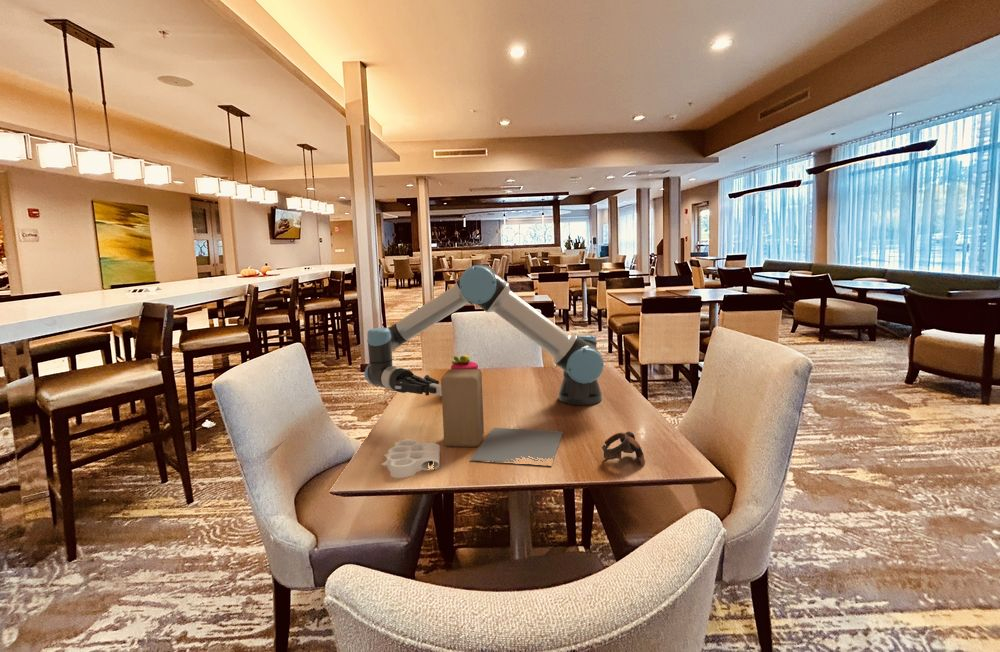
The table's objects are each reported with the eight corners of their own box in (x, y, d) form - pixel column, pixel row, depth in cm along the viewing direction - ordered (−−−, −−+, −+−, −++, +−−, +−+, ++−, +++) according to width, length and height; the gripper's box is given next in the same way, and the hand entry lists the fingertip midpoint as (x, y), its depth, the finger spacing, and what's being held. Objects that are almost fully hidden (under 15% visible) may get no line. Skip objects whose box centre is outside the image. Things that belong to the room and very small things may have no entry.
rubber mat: (563, 432, 148) (563, 431, 148) (551, 466, 125) (551, 465, 125) (493, 429, 153) (493, 427, 153) (470, 461, 130) (470, 459, 130)
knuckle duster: (439, 476, 123) (378, 481, 122) (440, 448, 141) (386, 452, 139) (438, 463, 123) (377, 468, 121) (439, 436, 140) (385, 440, 139)
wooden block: (484, 434, 149) (481, 368, 146) (479, 448, 139) (476, 377, 136) (451, 434, 150) (447, 368, 147) (443, 447, 140) (439, 377, 137)
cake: (453, 388, 200) (452, 351, 198) (480, 388, 200) (478, 350, 198) (450, 396, 190) (448, 357, 188) (478, 395, 189) (476, 356, 187)
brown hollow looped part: (645, 474, 121) (628, 446, 120) (611, 483, 126) (594, 457, 124) (651, 444, 131) (635, 418, 130) (619, 453, 136) (604, 429, 135)
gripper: (415, 386, 168) (463, 398, 152) (381, 395, 159) (428, 409, 142) (414, 364, 167) (462, 374, 151) (380, 372, 158) (426, 383, 141)
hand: (445, 391), depth 147 cm, fingers closed
